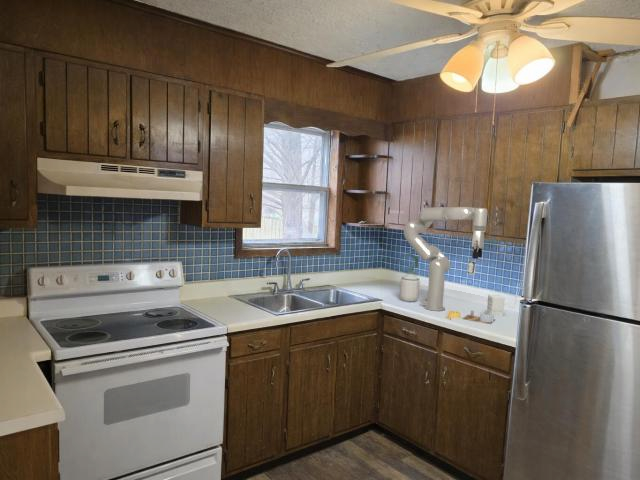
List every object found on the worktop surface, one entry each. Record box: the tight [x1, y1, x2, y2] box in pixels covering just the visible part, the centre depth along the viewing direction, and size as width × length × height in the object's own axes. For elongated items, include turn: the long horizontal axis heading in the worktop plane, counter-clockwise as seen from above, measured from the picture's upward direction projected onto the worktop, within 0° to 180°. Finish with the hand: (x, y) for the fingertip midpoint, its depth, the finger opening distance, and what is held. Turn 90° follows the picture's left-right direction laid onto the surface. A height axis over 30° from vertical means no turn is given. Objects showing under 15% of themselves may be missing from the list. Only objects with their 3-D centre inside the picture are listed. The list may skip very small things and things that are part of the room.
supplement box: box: [486, 294, 505, 318], centre depth 280 cm, size 7×7×13 cm
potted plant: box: [399, 253, 421, 303], centre depth 312 cm, size 12×12×31 cm
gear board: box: [461, 310, 496, 325], centre depth 268 cm, size 16×13×7 cm
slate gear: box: [479, 311, 495, 323], centre depth 266 cm, size 7×7×4 cm
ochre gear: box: [446, 310, 462, 321], centre depth 270 cm, size 7×7×4 cm
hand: (477, 257), depth 277 cm, fingers open, 9 cm apart
